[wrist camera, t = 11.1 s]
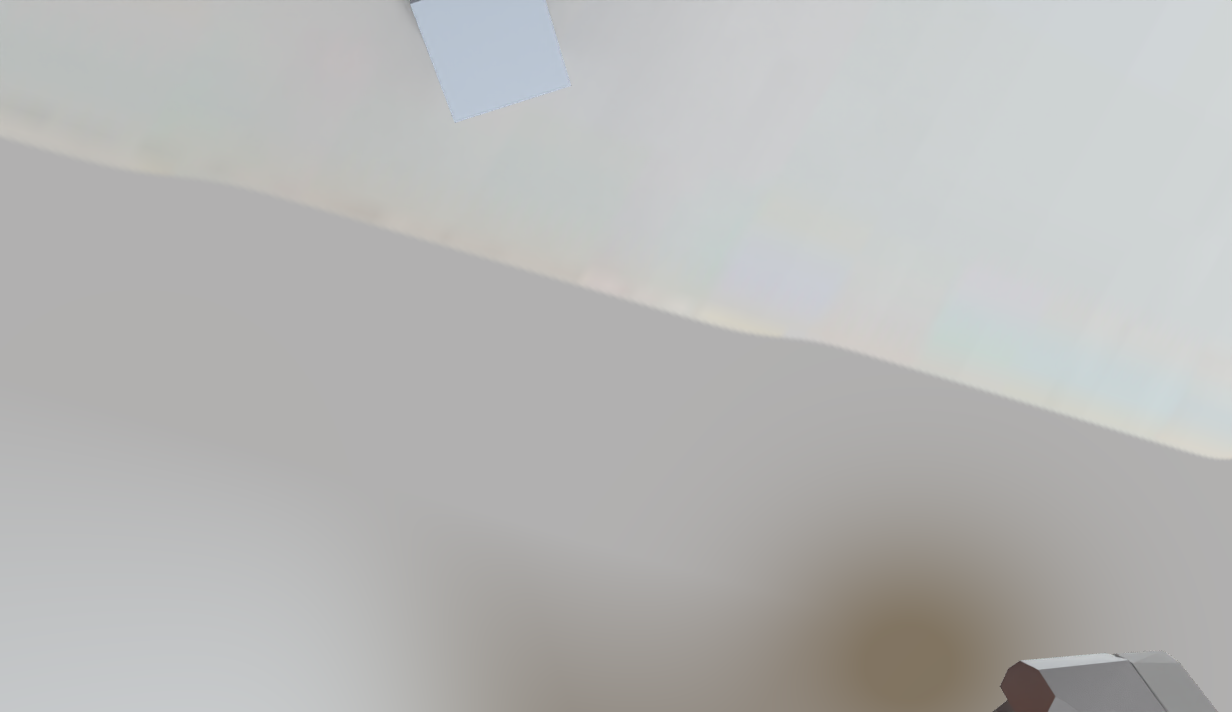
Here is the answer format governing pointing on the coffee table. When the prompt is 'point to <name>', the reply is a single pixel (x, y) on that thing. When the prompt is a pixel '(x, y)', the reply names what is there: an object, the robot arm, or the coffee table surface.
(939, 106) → the coffee table surface
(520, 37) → the slate block
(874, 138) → the coffee table surface
